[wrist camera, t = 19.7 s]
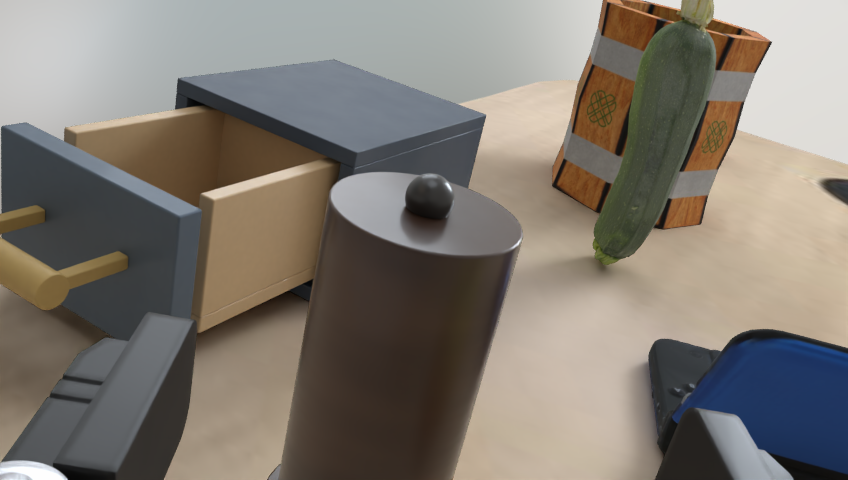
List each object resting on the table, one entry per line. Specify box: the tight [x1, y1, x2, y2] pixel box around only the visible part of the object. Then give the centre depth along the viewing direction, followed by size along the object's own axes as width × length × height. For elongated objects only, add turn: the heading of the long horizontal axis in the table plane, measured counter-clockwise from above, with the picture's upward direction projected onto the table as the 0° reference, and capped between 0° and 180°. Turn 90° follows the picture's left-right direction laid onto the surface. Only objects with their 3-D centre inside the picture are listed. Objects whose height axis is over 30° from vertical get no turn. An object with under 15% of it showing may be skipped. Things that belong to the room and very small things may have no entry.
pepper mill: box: [267, 172, 523, 480], centre depth 22 cm, size 6×6×14 cm
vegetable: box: [593, 0, 716, 265], centre depth 49 cm, size 4×4×20 cm
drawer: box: [0, 105, 341, 341], centre depth 36 cm, size 17×10×7 cm, turn 149°
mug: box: [552, 0, 772, 229], centre depth 68 cm, size 20×14×15 cm
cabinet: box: [175, 60, 486, 301], centre depth 47 cm, size 14×12×9 cm
